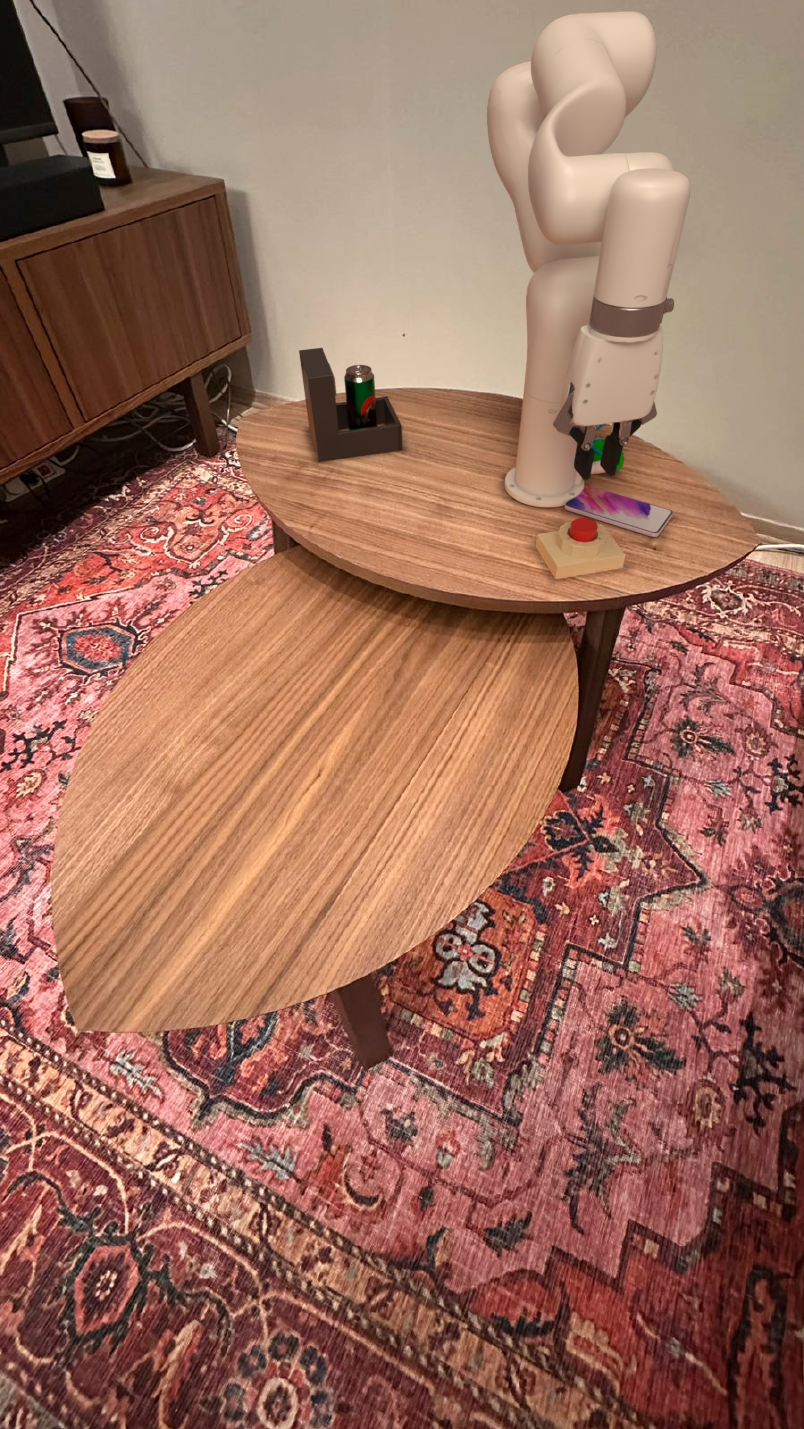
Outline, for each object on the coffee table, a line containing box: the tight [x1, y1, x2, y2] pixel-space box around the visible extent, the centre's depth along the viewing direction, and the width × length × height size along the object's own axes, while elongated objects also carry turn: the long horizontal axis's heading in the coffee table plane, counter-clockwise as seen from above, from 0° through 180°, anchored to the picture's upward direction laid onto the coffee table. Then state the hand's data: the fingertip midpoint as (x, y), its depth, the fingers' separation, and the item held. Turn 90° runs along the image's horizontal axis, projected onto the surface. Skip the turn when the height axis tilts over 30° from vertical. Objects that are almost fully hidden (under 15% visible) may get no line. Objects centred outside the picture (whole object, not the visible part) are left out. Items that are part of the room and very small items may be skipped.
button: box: [569, 517, 598, 542], centre depth 94 cm, size 4×4×2 cm
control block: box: [534, 520, 627, 580], centre depth 96 cm, size 10×8×4 cm
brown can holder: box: [298, 347, 403, 463], centre depth 117 cm, size 15×12×14 cm
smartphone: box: [563, 484, 674, 538], centre depth 104 cm, size 7×1×15 cm
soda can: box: [343, 364, 378, 430], centre depth 118 cm, size 5×5×12 cm
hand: (594, 471), depth 88 cm, fingers closed
